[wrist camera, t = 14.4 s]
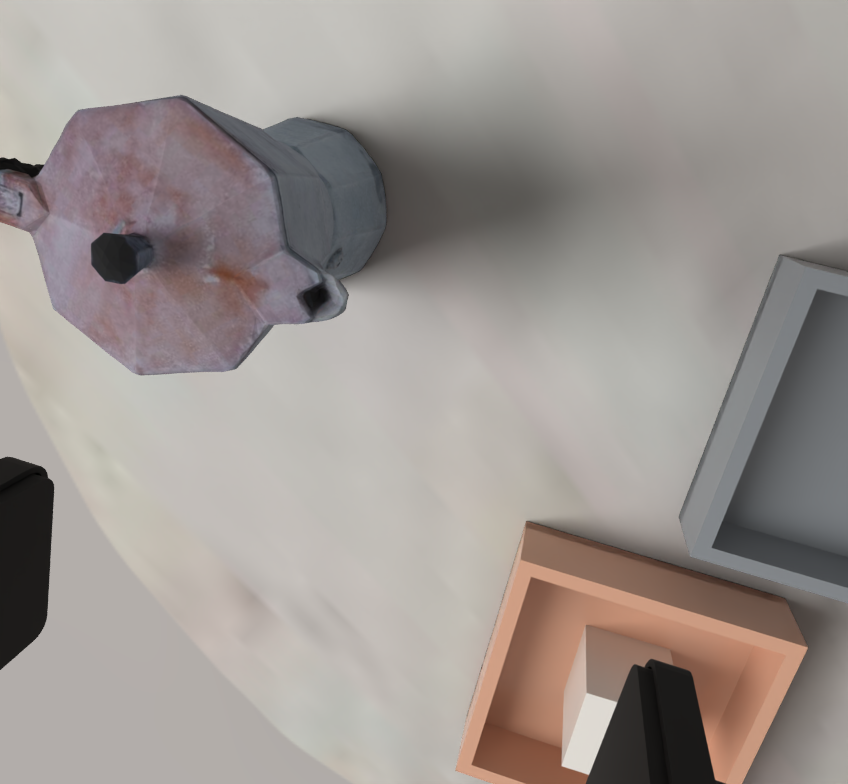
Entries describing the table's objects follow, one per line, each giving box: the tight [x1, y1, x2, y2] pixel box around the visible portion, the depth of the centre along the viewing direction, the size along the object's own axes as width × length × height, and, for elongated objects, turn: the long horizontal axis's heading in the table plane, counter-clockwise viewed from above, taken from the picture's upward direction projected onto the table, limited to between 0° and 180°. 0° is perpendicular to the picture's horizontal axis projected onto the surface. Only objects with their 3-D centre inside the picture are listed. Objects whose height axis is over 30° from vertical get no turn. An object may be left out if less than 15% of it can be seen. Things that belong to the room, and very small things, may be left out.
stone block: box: [561, 625, 673, 775], centre depth 41 cm, size 5×5×6 cm
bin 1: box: [455, 521, 808, 784], centre depth 43 cm, size 15×15×4 cm
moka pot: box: [0, 95, 386, 375], centre depth 31 cm, size 10×15×20 cm, turn 77°
